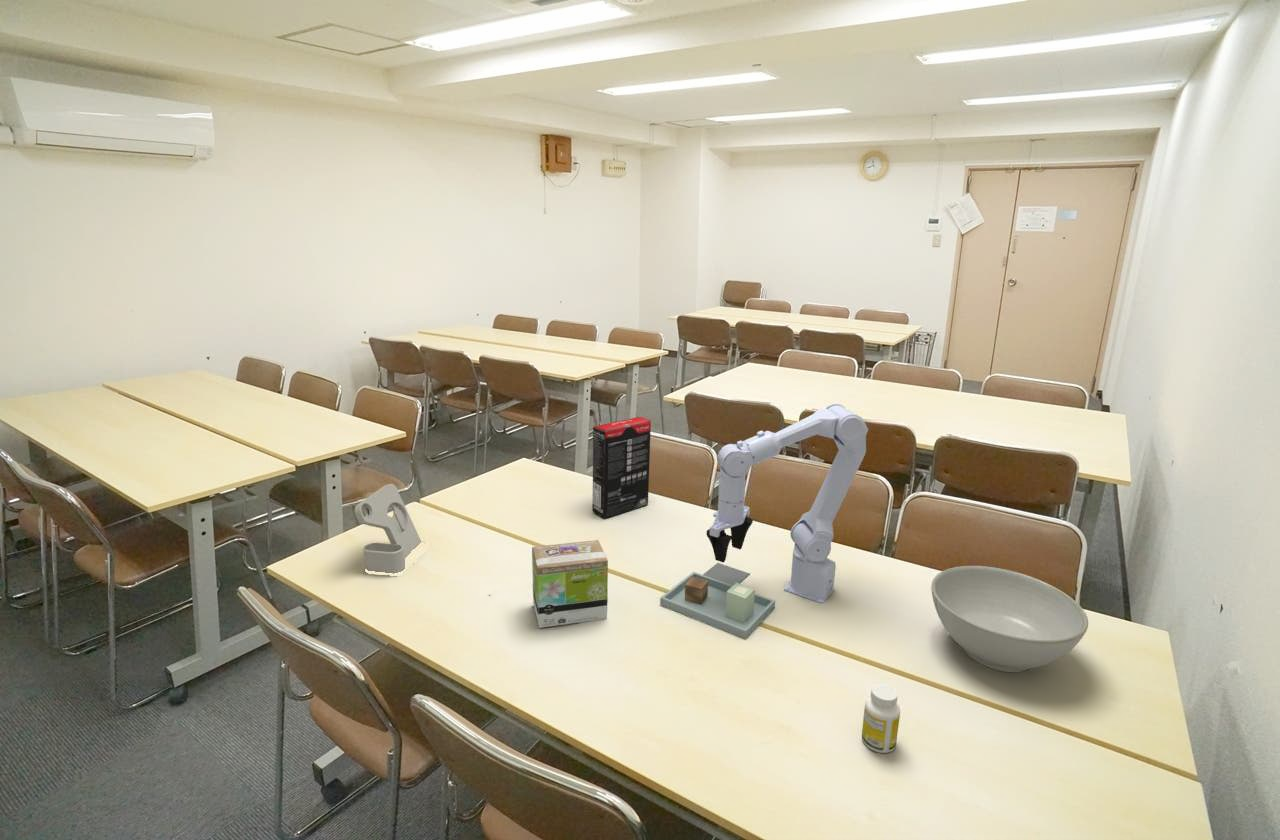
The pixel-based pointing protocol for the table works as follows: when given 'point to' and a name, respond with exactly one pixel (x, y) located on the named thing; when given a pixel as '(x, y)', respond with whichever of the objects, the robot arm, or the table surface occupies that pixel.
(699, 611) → the tray
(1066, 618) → the decorative bowl
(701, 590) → the walnut block
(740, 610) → the pale green box
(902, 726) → the table surface
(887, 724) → the supplement bottle
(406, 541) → the phone holder
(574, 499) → the table surface
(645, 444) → the graphics card box
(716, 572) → the mat
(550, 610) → the tea box
